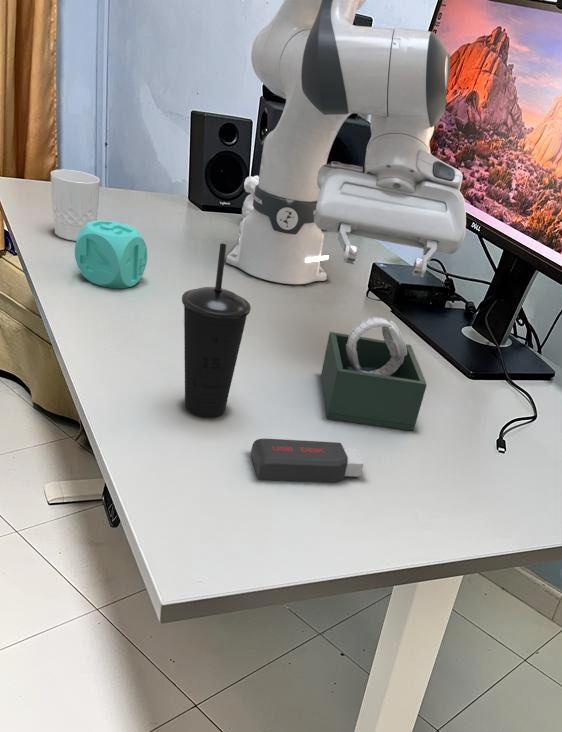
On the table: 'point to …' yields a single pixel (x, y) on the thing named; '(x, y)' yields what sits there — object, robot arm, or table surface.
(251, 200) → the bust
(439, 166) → the robot arm
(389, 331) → the watch
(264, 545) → the table surface
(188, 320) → the drinking cup
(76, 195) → the white cup
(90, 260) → the decorative dice
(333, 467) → the usb drive
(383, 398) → the open box
